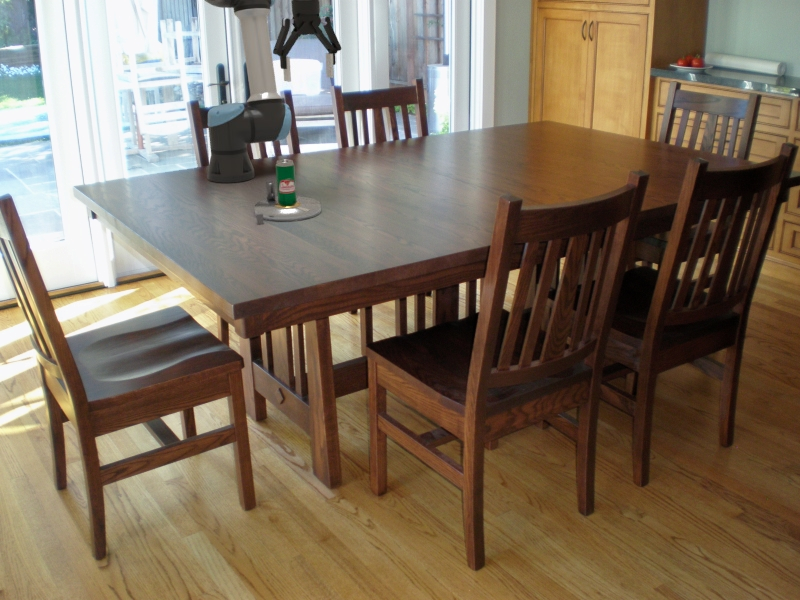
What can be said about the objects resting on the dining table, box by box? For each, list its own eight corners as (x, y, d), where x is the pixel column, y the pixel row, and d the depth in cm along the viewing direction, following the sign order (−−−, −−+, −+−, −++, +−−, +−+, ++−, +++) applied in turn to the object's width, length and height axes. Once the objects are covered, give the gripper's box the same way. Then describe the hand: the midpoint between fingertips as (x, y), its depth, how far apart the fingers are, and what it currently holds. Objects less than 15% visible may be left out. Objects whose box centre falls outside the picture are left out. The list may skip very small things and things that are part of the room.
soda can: (279, 207, 223) (276, 163, 219) (277, 202, 228) (273, 159, 223) (298, 205, 224) (295, 162, 220) (295, 201, 229) (292, 158, 224)
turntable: (242, 216, 223) (239, 191, 220) (278, 200, 238) (276, 176, 235) (299, 224, 216) (297, 198, 213) (332, 207, 231) (331, 182, 228)
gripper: (269, 0, 214) (275, 84, 221) (351, -3, 227) (354, 76, 235) (257, -1, 219) (262, 81, 227) (337, -3, 232) (340, 74, 240)
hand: (309, 79), depth 231 cm, fingers open, 13 cm apart
